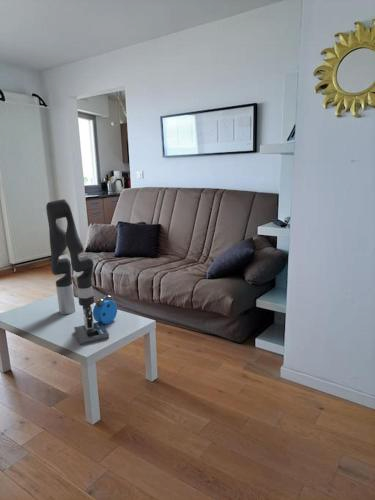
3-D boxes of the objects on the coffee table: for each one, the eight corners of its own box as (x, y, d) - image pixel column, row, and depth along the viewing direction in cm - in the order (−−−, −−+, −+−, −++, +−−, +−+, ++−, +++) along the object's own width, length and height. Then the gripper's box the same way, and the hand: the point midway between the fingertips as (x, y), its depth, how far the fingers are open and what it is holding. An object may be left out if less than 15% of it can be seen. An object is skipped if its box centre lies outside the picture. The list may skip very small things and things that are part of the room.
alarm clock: (110, 317, 200) (108, 292, 197) (118, 319, 197) (116, 294, 194) (93, 325, 190) (91, 300, 187) (101, 328, 186) (99, 302, 183)
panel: (74, 332, 182) (74, 327, 182) (101, 326, 189) (100, 321, 188) (80, 346, 168) (80, 340, 167) (109, 339, 174) (108, 333, 173)
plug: (85, 331, 183) (83, 315, 181) (92, 329, 184) (91, 313, 183) (86, 333, 179) (84, 317, 177) (94, 332, 181) (92, 316, 179)
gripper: (75, 292, 182) (79, 322, 186) (80, 300, 170) (84, 332, 173) (90, 289, 185) (93, 319, 189) (96, 297, 173) (99, 329, 177)
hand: (89, 325), depth 181 cm, fingers open, 4 cm apart
